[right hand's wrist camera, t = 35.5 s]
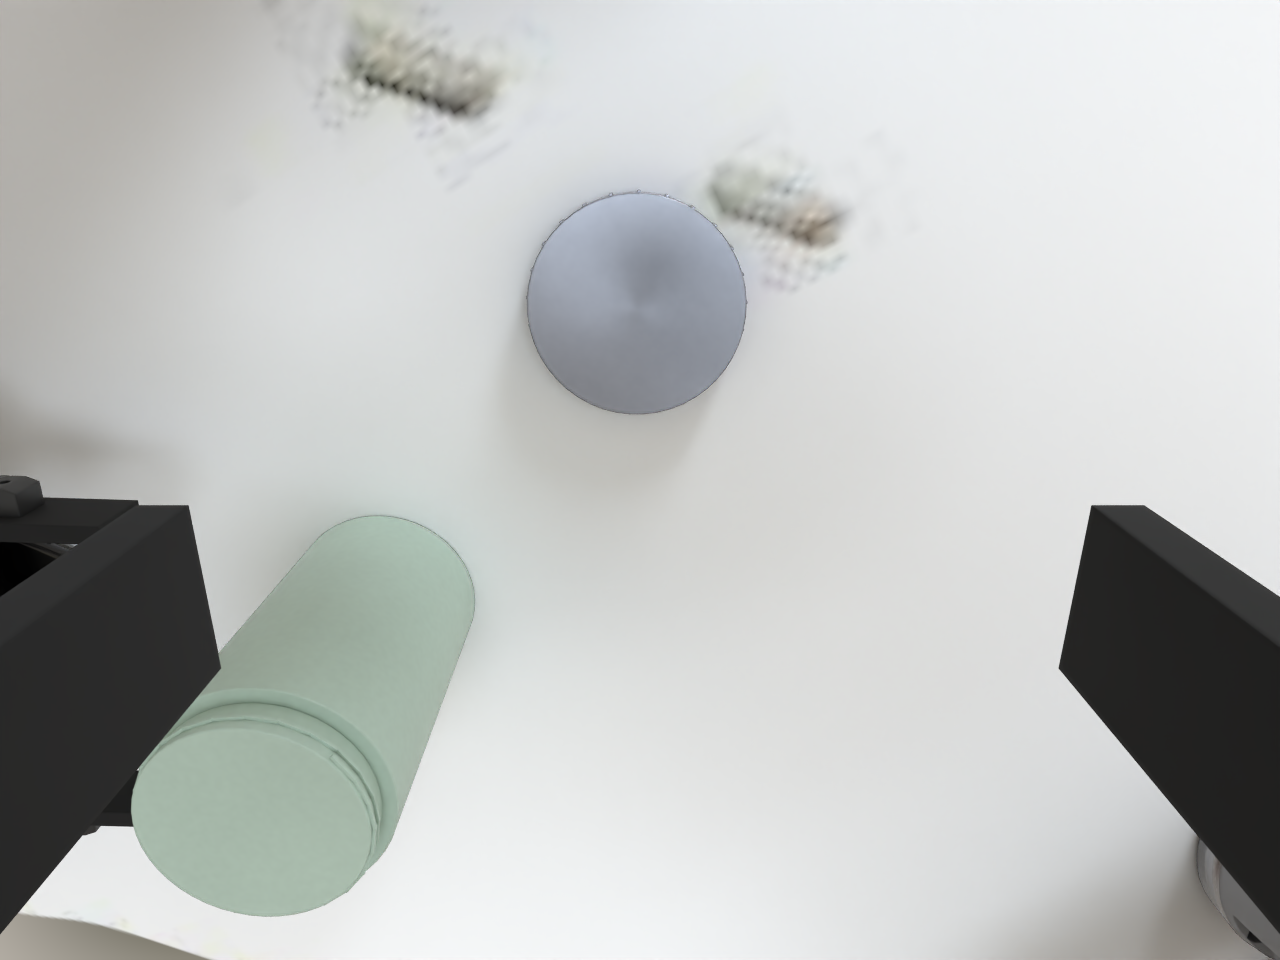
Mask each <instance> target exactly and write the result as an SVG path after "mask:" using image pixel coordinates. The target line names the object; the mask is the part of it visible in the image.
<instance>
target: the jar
mask: <svg viewBox="0 0 1280 960" xmlns="http://www.w3.org/2000/svg"><path fill="white" fill-rule="evenodd" d="M474 608H475V597H474V589H473V585H472V581H471V578H470V576H469V573H468V571H467V569H466V567H465V565H464V563H463V562H462V560H461V559H460V557H459V556H458V555H457V553H456V552H455V551H454V550H453V549H452V548H451V547H450V546H449V545H448V544H447V543H446V542H445V541H444V540H443V539H442V538H440V537H439V536H438V535H436V534H435V533H433V532H432V531H430V530H428V529H427V528H425V527H422V526H420V525H418V524H416V523H413V522H410V521H407V520H404V519H399V518H395V517H387V516H367V517H360V518H355V519H352V520H348V521H345V522H343V523H341V524H338V525H336V526H334V527H333V528H331V529H329V530H328V531H326V532H325V533H324V534H323V535H321V536H320V537H319V538H318V539H317V540H316V541H315V542H314V544H313V545H312V546H311V547H310V548H309V549H308V550H307V552H306V553H305V554H304V555H303V556H302V557H301V558H300V560H299V561H298V562H297V563H296V564H295V565H294V567H293V568H292V569H291V570H290V571H289V572H288V574H287V575H286V576H285V577H284V578H283V579H282V581H281V582H280V583H279V584H278V585H277V586H276V587H275V589H274V590H273V591H272V592H271V593H270V594H269V596H268V597H267V598H266V599H265V600H264V601H263V603H262V604H261V605H260V606H259V607H258V608H257V609H256V611H255V612H254V613H253V614H252V615H251V616H250V618H249V619H248V620H247V621H246V622H245V623H244V625H243V626H242V627H241V628H240V629H239V630H238V631H237V633H236V634H235V635H234V636H233V637H232V638H231V640H230V641H229V642H228V643H227V644H226V645H225V647H224V648H223V649H222V650H221V651H220V652H219V659H220V664H221V669H220V671H219V672H218V673H217V674H216V675H215V677H214V678H213V679H212V680H211V681H210V683H209V684H208V685H207V686H206V687H205V689H204V690H203V691H202V692H201V693H200V695H199V696H198V697H197V698H196V699H195V701H194V702H193V703H192V704H191V705H190V707H189V708H188V709H187V710H186V711H185V713H184V714H183V715H182V716H181V717H180V719H179V720H178V721H177V722H176V723H175V725H174V726H173V727H172V728H171V729H170V731H169V732H168V733H167V734H166V735H165V737H164V738H163V739H162V740H161V742H160V743H159V744H158V745H157V746H156V748H155V749H154V750H153V751H152V752H151V754H150V755H149V756H148V757H147V758H146V760H145V761H144V762H143V763H142V764H141V766H140V767H139V773H138V776H137V779H136V783H135V786H134V789H133V795H132V803H131V814H132V822H133V826H134V830H135V833H136V836H137V838H138V840H139V843H140V845H141V847H142V849H143V850H144V852H145V853H146V855H147V857H148V858H149V860H150V861H151V862H152V863H153V864H154V866H155V867H156V868H157V869H158V870H159V871H160V872H161V873H162V874H163V875H164V876H165V877H166V878H167V879H168V880H169V881H171V882H172V883H173V884H175V885H176V886H177V887H178V888H180V889H181V890H183V891H184V892H186V893H188V894H189V895H191V896H193V897H195V898H197V899H199V900H201V901H203V902H205V903H207V904H210V905H212V906H215V907H217V908H220V909H224V910H227V911H231V912H234V913H240V914H245V915H252V916H264V917H266V916H286V915H294V914H298V913H303V912H307V911H310V910H313V909H316V908H318V907H321V906H323V905H326V904H328V903H329V902H331V901H333V900H334V899H336V898H338V897H339V896H341V895H343V894H344V893H347V892H348V891H349V890H350V889H351V888H352V887H353V886H354V884H355V883H356V882H357V881H358V880H359V879H360V878H361V877H362V876H363V875H364V874H365V872H366V871H367V870H368V869H369V868H370V867H371V866H372V865H373V864H374V863H375V862H376V861H377V860H378V859H379V858H380V857H381V855H382V854H383V853H384V852H385V850H386V849H387V847H388V845H389V843H390V842H391V840H392V838H393V835H394V832H395V829H396V827H397V824H398V821H399V818H400V816H401V813H402V810H403V808H404V805H405V802H406V799H407V797H408V794H409V791H410V789H411V786H412V783H413V780H414V778H415V775H416V772H417V770H418V767H419V764H420V761H421V759H422V756H423V753H424V751H425V748H426V745H427V742H428V740H429V737H430V734H431V732H432V729H433V726H434V723H435V721H436V718H437V715H438V713H439V710H440V707H441V704H442V702H443V699H444V696H445V694H446V691H447V688H448V685H449V683H450V680H451V677H452V674H453V672H454V669H455V666H456V664H457V661H458V658H459V655H460V653H461V650H462V647H463V645H464V642H465V639H466V636H467V634H468V631H469V628H470V626H471V623H472V620H473V615H474Z"/></svg>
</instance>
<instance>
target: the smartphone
mask: <svg viewBox="0 0 1280 960" xmlns="http://www.w3.org/2000/svg"><path fill="white" fill-rule="evenodd" d="M68 551H69V549H67V548H64V547H62V546H59V545H57V544H55V543H23V542H0V597H1V596H2V595H4V594H5V593H7V592H8V591H10V590H11V589H13V588H14V587H16V586H17V585H19V584H20V583H22V582H23V581H25V580H26V579H28V578H29V577H30V576H32V575H33V574H35V573H36V572H38V571H39V570H41V569H42V568H44V567H45V566H47V565H48V564H50V563H51V562H53V561H54V560H56V559H57V558H59V557H60V556H62V555H63V554H65V553H66V552H68Z"/></svg>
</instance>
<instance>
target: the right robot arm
mask: <svg viewBox="0 0 1280 960" xmlns="http://www.w3.org/2000/svg"><path fill="white" fill-rule="evenodd" d="M220 669H221V664H220V659H219V654H218V649H217V644H216V639H215V634H214V629H213V625H212V620H211V615H210V610H209V605H208V600H207V595H206V590H205V585H204V580H203V575H202V570H201V565H200V560H199V555H198V550H197V545H196V540H195V535H194V530H193V525H192V520H191V515H190V510H189V506H188V505H136V506H134V507H133V508H131V509H130V510H128V511H127V512H125V513H124V514H122V515H121V516H119V517H118V518H116V519H115V520H113V521H112V522H110V523H109V524H107V525H106V526H105V527H103V528H102V529H100V530H99V531H97V532H96V533H94V534H93V535H91V536H90V537H88V538H87V539H85V540H84V541H82V542H81V543H79V544H78V545H76V546H75V547H73V548H72V549H70V550H69V551H68V552H66V553H65V554H63V555H62V556H60V557H59V558H57V559H56V560H54V561H53V562H51V563H50V564H48V565H47V566H45V567H44V568H42V569H41V570H39V571H38V572H36V573H35V574H33V575H32V576H30V577H29V578H28V579H26V580H25V581H23V582H22V583H20V584H19V585H17V586H16V587H14V588H13V589H11V590H10V591H8V592H7V593H5V594H4V595H2V596H1V597H0V934H1V933H2V931H3V930H4V929H5V928H6V927H7V925H8V924H9V923H10V922H11V921H12V919H13V918H14V917H15V916H16V915H17V913H18V912H19V911H20V910H21V909H22V907H23V906H24V905H25V904H26V903H27V901H28V900H29V899H30V898H31V897H32V895H33V894H34V893H35V892H36V891H37V889H38V888H39V887H40V886H41V885H42V883H43V882H44V881H45V880H46V879H47V877H48V876H49V875H50V874H51V873H52V871H53V870H54V869H55V868H56V867H57V865H58V864H59V863H60V862H61V861H62V859H63V858H64V857H65V856H66V855H67V853H68V852H69V851H70V850H71V849H72V847H73V846H74V845H75V844H76V843H77V841H78V840H79V839H80V838H81V836H82V835H83V834H84V833H85V832H86V830H87V829H88V828H89V827H90V826H91V824H92V823H93V822H94V821H95V820H96V818H97V817H98V816H99V815H100V814H101V812H102V811H103V810H104V809H105V808H106V806H107V805H108V804H109V803H110V802H111V800H112V799H113V798H114V797H115V796H116V794H117V793H118V792H119V791H120V790H121V788H122V787H123V786H124V785H125V784H126V782H127V781H128V780H129V779H130V778H131V776H132V775H133V774H134V773H135V772H136V770H137V769H138V768H139V767H140V766H141V764H142V763H143V762H144V761H145V760H146V758H147V757H148V756H149V755H150V754H151V752H152V751H153V750H154V749H155V748H156V746H157V745H158V744H159V743H160V742H161V740H162V739H163V738H164V737H165V735H166V734H167V733H168V732H169V731H170V729H171V728H172V727H173V726H174V725H175V723H176V722H177V721H178V720H179V719H180V717H181V716H182V715H183V714H184V713H185V711H186V710H187V709H188V708H189V707H190V705H191V704H192V703H193V702H194V701H195V699H196V698H197V697H198V696H199V695H200V693H201V692H202V691H203V690H204V689H205V687H206V686H207V685H208V684H209V683H210V681H211V680H212V679H213V678H214V677H215V675H216V674H217V673H218V672H219V671H220ZM1059 669H1060V671H1061V672H1062V673H1063V674H1064V675H1065V677H1066V678H1067V679H1068V680H1069V681H1070V683H1071V684H1072V685H1073V686H1074V687H1075V689H1076V690H1077V691H1078V692H1079V693H1080V695H1081V696H1082V697H1083V698H1084V699H1085V701H1086V702H1087V703H1088V704H1089V705H1090V707H1091V708H1092V709H1093V710H1094V711H1095V713H1096V714H1097V715H1098V716H1099V717H1100V719H1101V720H1102V721H1103V722H1104V723H1105V725H1106V726H1107V727H1108V728H1109V729H1110V731H1111V732H1112V733H1113V734H1114V735H1115V737H1116V738H1117V739H1118V740H1119V742H1120V743H1121V744H1122V745H1123V746H1124V748H1125V749H1126V750H1127V751H1128V752H1129V754H1130V755H1131V756H1132V757H1133V758H1134V760H1135V761H1136V762H1137V763H1138V764H1139V766H1140V767H1141V768H1142V769H1143V770H1144V772H1145V773H1146V774H1147V775H1148V776H1149V778H1150V779H1151V780H1152V781H1153V782H1154V784H1155V785H1156V786H1157V787H1158V788H1159V790H1160V791H1161V792H1162V793H1163V794H1164V796H1165V797H1166V798H1167V799H1168V800H1169V802H1170V803H1171V804H1172V805H1173V806H1174V808H1175V809H1176V810H1177V811H1178V812H1179V814H1180V815H1181V816H1182V817H1183V818H1184V820H1185V821H1186V822H1187V823H1188V824H1189V826H1190V827H1191V828H1192V829H1193V830H1194V832H1195V833H1196V834H1197V835H1198V836H1199V838H1200V840H1199V845H1198V852H1197V866H1198V874H1199V877H1200V881H1201V884H1202V886H1203V888H1204V891H1205V892H1206V894H1207V896H1208V897H1209V899H1210V900H1211V902H1212V903H1213V904H1214V905H1215V907H1216V908H1217V909H1218V911H1219V912H1220V913H1221V915H1222V916H1223V917H1224V918H1225V920H1226V921H1227V922H1228V924H1229V925H1230V926H1231V927H1232V929H1233V930H1234V931H1235V932H1236V933H1237V934H1238V935H1239V936H1240V937H1241V938H1242V939H1243V940H1244V941H1246V942H1247V943H1249V944H1250V945H1251V946H1253V947H1255V948H1256V949H1258V950H1259V951H1261V952H1262V953H1263V954H1265V955H1267V956H1268V957H1270V958H1272V959H1275V960H1280V597H1279V596H1278V595H1276V594H1275V593H1273V592H1272V591H1270V590H1269V589H1267V588H1266V587H1264V586H1263V585H1261V584H1260V583H1258V582H1257V581H1255V580H1254V579H1252V578H1251V577H1250V576H1248V575H1247V574H1245V573H1244V572H1242V571H1241V570H1239V569H1238V568H1236V567H1235V566H1233V565H1232V564H1230V563H1229V562H1227V561H1226V560H1224V559H1223V558H1221V557H1220V556H1218V555H1217V554H1215V553H1214V552H1212V551H1211V550H1210V549H1208V548H1207V547H1205V546H1204V545H1202V544H1201V543H1199V542H1198V541H1196V540H1195V539H1193V538H1192V537H1190V536H1189V535H1187V534H1186V533H1184V532H1183V531H1181V530H1180V529H1178V528H1177V527H1175V526H1174V525H1172V524H1171V523H1170V522H1168V521H1167V520H1165V519H1164V518H1162V517H1161V516H1159V515H1158V514H1156V513H1155V512H1153V511H1152V510H1150V509H1149V508H1147V507H1146V506H1144V505H1092V506H1091V510H1090V515H1089V520H1088V525H1087V530H1086V535H1085V540H1084V545H1083V550H1082V555H1081V560H1080V565H1079V570H1078V575H1077V580H1076V585H1075V590H1074V595H1073V600H1072V605H1071V610H1070V615H1069V620H1068V625H1067V629H1066V634H1065V639H1064V644H1063V649H1062V654H1061V659H1060V664H1059Z"/></svg>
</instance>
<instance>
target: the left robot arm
mask: <svg viewBox="0 0 1280 960" xmlns="http://www.w3.org/2000/svg"><path fill="white" fill-rule="evenodd" d="M136 505H139V504H138V500H108V499H75V498H43V495H42V491H41V486H40V482H39V481H37V480H34V479H32V478H29V477H26V476H0V542H23V543H56V544H79V543H81V542H82V541H84V540H85V539H87V538H88V537H90V536H91V535H93V534H94V533H96V532H97V531H99V530H100V529H102V528H103V527H105V526H106V525H107V524H109V523H110V522H112V521H113V520H115V519H116V518H118V517H119V516H121V515H122V514H124V513H125V512H127V511H128V510H130V509H131V508H133V507H134V506H136ZM138 773H139V771H136V772H135V773H134V774H133V775H132V776H131V778H130V779H129V780H128V781H127V782H126V784H125V785H124V786H123V787H122V788H121V790H120V791H119V792H118V793H117V794H116V796H115V797H114V798H113V799H112V800H111V802H110V803H109V804H108V805H107V806H106V808H105V809H104V810H103V811H102V812H101V814H100V815H99V816H98V817H97V818H96V820H95V821H94V822H93V823H92V824H91V826H90V827H89V828H88V829H87V830H86V832H85V833H84V834H83V835H88V834H91V833H94V832H96V831H97V830H98V829H99V827H100V826H129V827H134V826H133V822H132V814H131V803H132V795H133V789H134V786H135V783H136V779H137V776H138Z"/></svg>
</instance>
